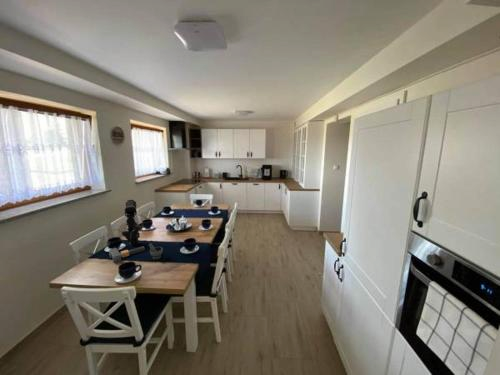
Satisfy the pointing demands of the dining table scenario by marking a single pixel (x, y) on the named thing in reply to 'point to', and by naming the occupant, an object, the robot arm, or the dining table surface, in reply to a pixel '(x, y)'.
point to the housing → (115, 255)
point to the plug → (132, 251)
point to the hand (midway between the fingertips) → (132, 240)
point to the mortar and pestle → (155, 251)
